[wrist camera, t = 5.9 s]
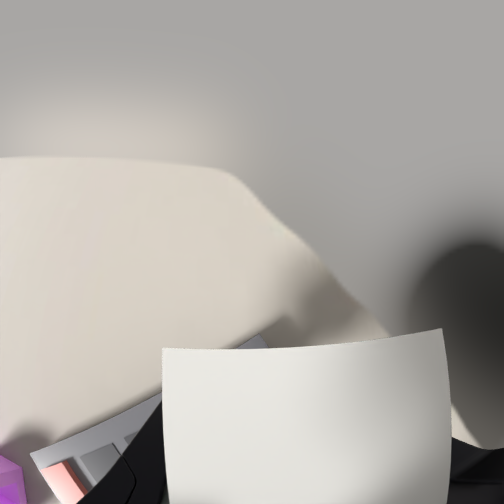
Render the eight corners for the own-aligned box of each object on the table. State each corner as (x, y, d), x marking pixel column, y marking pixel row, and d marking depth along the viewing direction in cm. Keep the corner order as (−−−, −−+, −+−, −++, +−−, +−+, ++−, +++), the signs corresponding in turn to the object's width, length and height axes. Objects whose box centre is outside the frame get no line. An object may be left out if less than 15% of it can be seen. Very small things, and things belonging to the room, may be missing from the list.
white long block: (287, 447, 12) (443, 519, 2) (198, 452, 11) (185, 586, 2) (283, 375, 14) (442, 328, 4) (195, 377, 13) (162, 347, 3)
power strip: (252, 340, 21) (261, 331, 18) (296, 402, 19) (314, 404, 16) (47, 448, 14) (24, 454, 10) (88, 509, 12) (71, 524, 8)
